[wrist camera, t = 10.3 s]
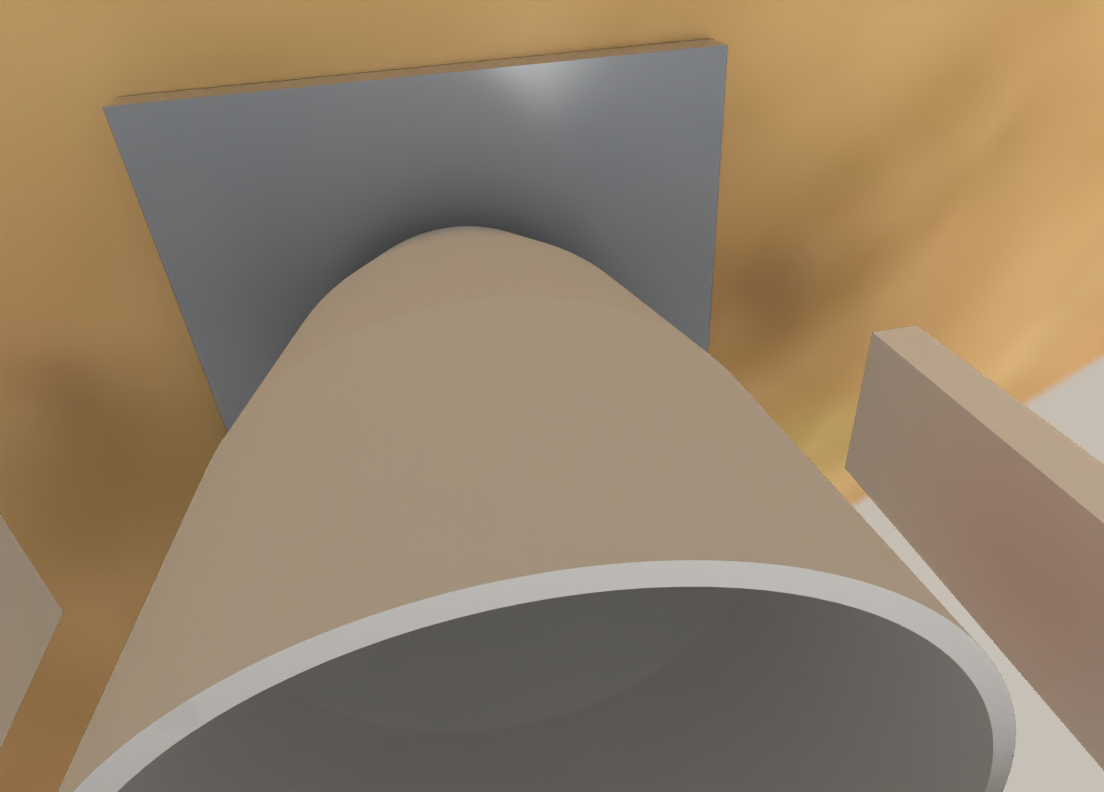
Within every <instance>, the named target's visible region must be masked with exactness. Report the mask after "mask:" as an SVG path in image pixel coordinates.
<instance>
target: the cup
mask: <svg viewBox="0 0 1104 792" xmlns="http://www.w3.org/2000/svg"><path fill="white" fill-rule="evenodd" d="M1015 740H1016V724H1015V715H1014V709H1013V705H1012V701H1011V697H1010V694H1009V692H1008V689H1007V686H1006V684H1005V682H1004V680H1003V678H1002V676H1001V674H1000V672H999V671H998V669H997V667H996V666H995V664H994V663H993V661H992V660H991V659H990V658H989V656H988V655H987V654H986V652H985V651H984V650H983V649H982V648H981V647H980V646H979V645H978V644H977V643H976V641H975V640H974V639H973V638H972V637H971V636H970V635H969V634H968V633H967V632H966V630H965V629H964V628H963V627H962V626H961V625H960V624H959V623H958V622H957V621H956V619H955V618H954V617H953V616H952V615H951V614H950V613H949V612H948V611H947V609H945V607H944V606H943V605H942V604H941V603H940V602H939V601H938V600H937V599H936V597H935V596H934V595H933V594H932V593H931V592H930V591H929V590H928V589H927V588H926V587H925V585H923V583H922V582H921V581H920V580H919V579H918V578H917V577H916V576H915V575H914V573H913V572H912V571H911V570H910V569H909V568H908V567H907V566H906V565H905V563H904V562H903V561H902V560H901V559H900V558H899V557H898V556H897V555H896V554H895V553H894V551H893V550H892V549H891V548H890V547H889V546H888V545H887V544H886V543H885V542H884V540H883V539H882V538H881V537H880V536H879V535H878V534H877V533H876V532H875V531H874V529H873V528H872V527H871V526H870V525H869V524H868V523H867V522H866V521H865V520H864V519H863V517H862V516H861V515H860V514H859V513H858V512H857V511H856V510H855V509H854V508H853V506H852V505H851V504H850V503H849V502H848V501H847V500H846V499H845V498H844V497H843V496H842V494H841V493H840V492H839V491H838V490H837V489H836V488H835V487H834V486H833V485H832V483H831V482H830V481H829V480H828V479H827V478H826V477H825V476H824V475H823V474H822V472H821V471H820V470H819V469H818V468H817V467H816V466H815V465H814V464H813V463H812V462H811V460H810V459H809V458H808V457H807V456H806V455H805V454H804V453H803V452H802V451H801V449H800V448H799V447H798V446H797V445H796V444H795V443H794V442H793V441H792V440H791V439H790V437H789V436H788V435H787V434H786V433H785V432H784V431H783V430H782V429H781V428H780V426H779V425H778V424H777V423H776V422H775V421H774V420H773V419H772V418H771V417H770V416H769V414H768V413H767V412H766V411H765V410H764V409H763V408H762V407H761V406H760V405H759V403H758V402H757V401H756V400H755V399H754V398H753V397H752V396H751V395H750V394H749V392H748V391H747V390H746V389H745V388H744V387H743V386H742V385H741V384H740V383H739V382H738V380H737V379H736V378H735V377H734V376H733V375H732V374H731V373H730V372H729V371H728V370H727V369H726V368H725V367H724V366H723V365H722V364H721V363H720V362H718V361H717V360H716V359H715V358H714V357H712V356H711V355H710V354H709V353H707V352H706V351H705V350H704V349H702V348H701V347H700V346H698V345H697V344H696V343H695V342H693V341H692V340H691V339H689V338H688V337H687V336H686V335H684V334H683V333H682V332H680V331H679V330H678V329H677V328H675V327H674V326H673V325H672V324H670V323H669V322H668V321H666V320H665V319H664V318H663V317H661V316H660V315H659V314H657V313H656V312H655V311H654V310H652V309H651V308H650V307H648V306H647V305H646V304H645V303H643V302H642V301H641V300H640V299H638V298H637V297H636V296H634V295H633V294H632V293H631V292H629V291H628V290H627V289H625V288H624V287H623V286H622V285H620V284H619V283H618V282H616V281H615V280H614V279H613V278H611V277H610V276H609V275H607V274H606V273H605V272H603V271H602V270H601V269H599V268H598V267H596V266H595V265H593V264H592V263H590V262H588V261H586V260H585V259H583V258H581V257H579V256H577V255H575V254H573V253H571V252H569V251H566V250H564V249H561V248H559V247H556V246H553V245H550V244H547V243H544V242H540V241H537V240H534V239H530V238H527V237H523V236H520V235H517V234H513V233H510V232H507V231H503V230H499V229H494V228H488V227H478V226H457V227H448V228H441V229H436V230H432V231H428V232H425V233H422V234H419V235H416V236H414V237H411V238H409V239H407V240H405V241H403V242H401V243H399V244H397V245H395V246H394V247H392V248H390V249H389V250H387V251H386V252H384V253H383V254H381V255H380V256H378V257H377V258H375V259H374V260H372V261H371V262H369V263H368V264H366V265H365V266H363V267H362V268H360V269H359V270H357V271H356V272H354V273H353V274H351V275H350V276H349V277H347V278H346V279H344V280H343V281H342V282H341V283H339V284H338V285H337V286H336V287H335V288H333V289H332V290H331V291H330V292H329V293H328V294H327V295H326V296H325V297H324V298H323V299H322V300H321V301H320V302H319V303H318V304H317V305H316V307H315V308H314V309H313V310H312V311H311V313H310V314H309V315H308V317H307V318H306V319H305V321H304V322H303V324H302V325H301V326H300V328H299V329H298V331H297V332H296V334H295V335H294V337H293V338H292V340H291V341H290V342H289V344H288V345H287V347H286V348H285V350H284V351H283V353H282V354H281V356H280V357H279V358H278V360H277V361H276V363H275V364H274V366H273V367H272V369H271V370H270V372H269V373H268V375H267V376H266V377H265V379H264V380H263V382H262V383H261V385H260V386H259V388H258V389H257V391H256V392H255V393H254V395H253V396H252V398H251V399H250V401H249V402H248V404H247V405H246V407H245V408H244V409H243V411H242V412H241V414H240V415H239V417H238V418H237V420H236V421H235V423H234V424H233V425H232V427H231V428H230V430H229V431H228V433H227V434H226V436H225V437H224V439H223V440H222V441H221V443H220V445H219V446H218V448H217V450H216V451H215V453H214V455H213V456H212V458H211V460H210V462H209V464H208V466H207V468H206V470H205V472H204V475H203V477H202V479H201V481H200V483H199V486H198V488H197V490H196V492H195V494H194V496H193V499H192V501H191V503H190V505H189V507H188V509H187V512H186V514H185V516H184V518H183V520H182V522H181V525H180V527H179V529H178V531H177V533H176V536H175V538H174V540H173V542H172V544H171V546H170V549H169V551H168V553H167V555H166V557H165V559H164V562H163V564H162V566H161V568H160V570H159V572H158V575H157V577H156V579H155V581H154V583H153V586H152V588H151V590H150V592H149V594H148V596H147V599H146V601H145V603H144V605H143V607H142V609H141V612H140V614H139V616H138V618H137V620H136V622H135V625H134V627H133V629H132V631H131V633H130V636H129V638H128V640H127V642H126V644H125V646H124V649H123V651H122V653H121V655H120V657H119V659H118V662H117V664H116V666H115V668H114V670H113V672H112V675H111V677H110V679H109V681H108V683H107V686H106V688H105V690H104V692H103V694H102V696H101V699H100V701H99V703H98V705H97V707H96V709H95V712H94V714H93V716H92V718H91V720H90V722H89V725H88V727H87V729H86V731H85V733H84V736H83V738H82V740H81V742H80V744H79V746H78V749H77V751H76V753H75V755H74V757H73V759H72V762H71V764H70V766H69V768H68V770H67V772H66V775H65V777H64V779H63V781H62V783H61V786H60V788H59V790H58V792H1003V789H1004V787H1005V785H1006V782H1007V779H1008V776H1009V773H1010V769H1011V766H1012V761H1013V757H1014V750H1015Z"/></svg>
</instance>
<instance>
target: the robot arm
mask: <svg viewBox="0 0 1104 792" xmlns="http://www.w3.org/2000/svg"><path fill="white" fill-rule="evenodd" d="M845 469H846V470H847V471H848V472H849V473H850V475H851V476H852V477H853V478H854V479H855V480H856V482H857V483H858V484H859V485H860V486H861V487H862V489H863V490H864V491H865V492H866V493H867V494H868V496H869V497H870V498H871V499H872V500H873V501H874V503H875V504H876V505H877V506H878V507H879V508H880V510H881V511H882V512H883V513H884V514H885V516H886V517H887V518H888V519H889V520H890V521H891V523H892V524H893V525H894V526H895V527H896V528H897V530H898V531H899V532H900V533H901V534H902V535H903V536H904V538H905V539H906V540H907V541H908V542H909V544H910V545H911V546H912V547H913V548H914V549H915V550H916V552H917V553H918V554H919V555H920V556H921V558H922V559H923V560H924V561H925V562H926V563H927V565H928V566H929V567H930V568H931V569H932V570H933V572H934V573H935V574H936V575H937V576H938V577H939V579H940V580H941V581H942V582H943V583H944V584H945V586H946V587H947V588H948V589H949V590H950V591H951V593H952V594H953V595H954V596H955V597H956V598H957V600H958V601H959V602H960V603H961V604H962V605H963V606H964V608H965V609H966V610H967V611H968V612H969V613H970V615H971V616H972V617H973V618H974V619H975V620H976V622H977V623H978V624H979V625H980V626H981V628H982V629H983V630H984V631H985V632H986V633H987V635H988V636H989V637H990V638H991V639H992V640H993V641H994V643H995V644H996V645H997V646H998V647H999V649H1000V650H1001V651H1002V652H1003V653H1004V654H1005V656H1006V657H1007V658H1008V659H1009V660H1010V661H1011V663H1012V664H1013V665H1014V666H1015V667H1016V668H1017V670H1018V671H1019V672H1020V673H1021V674H1022V676H1023V677H1024V678H1025V679H1026V680H1027V681H1028V683H1029V684H1030V685H1031V686H1032V687H1033V688H1034V690H1035V691H1036V692H1037V693H1038V694H1039V695H1040V696H1041V698H1042V699H1043V700H1044V701H1045V702H1046V703H1047V705H1048V706H1049V707H1050V708H1051V709H1052V710H1053V711H1054V713H1055V714H1056V715H1057V716H1058V718H1059V719H1060V720H1061V721H1062V722H1063V723H1064V725H1065V726H1066V727H1067V728H1068V729H1069V730H1070V732H1071V733H1072V734H1073V735H1074V736H1075V737H1076V738H1077V740H1078V741H1079V742H1080V743H1081V744H1082V746H1083V747H1084V748H1085V749H1086V750H1087V751H1088V753H1089V754H1090V755H1091V756H1092V757H1093V758H1094V760H1095V761H1096V762H1097V763H1098V764H1099V765H1100V767H1101V768H1102V769H1103V770H1104V464H1102V463H1101V462H1100V461H1098V460H1097V459H1096V458H1094V457H1093V456H1092V455H1090V454H1089V453H1088V452H1086V451H1085V450H1084V449H1082V448H1081V447H1080V446H1078V445H1077V444H1076V443H1074V442H1073V441H1072V440H1070V439H1069V438H1068V437H1066V436H1065V435H1064V434H1062V433H1061V432H1059V431H1058V430H1057V429H1056V428H1054V427H1053V426H1052V425H1050V424H1049V423H1047V422H1046V421H1045V420H1043V419H1042V418H1040V417H1039V416H1038V415H1037V414H1035V413H1034V412H1033V411H1031V410H1030V409H1029V408H1027V407H1026V406H1025V405H1023V404H1022V403H1021V402H1019V401H1018V400H1017V399H1015V398H1014V397H1013V396H1011V395H1010V394H1009V393H1007V392H1006V391H1005V390H1003V389H1002V388H1001V387H999V386H998V385H996V384H995V383H994V382H992V381H991V380H990V379H988V378H987V377H986V376H984V375H983V374H982V373H980V372H979V371H978V370H976V369H975V368H974V367H972V366H971V365H970V364H968V363H967V362H966V361H964V360H963V359H962V358H960V357H959V356H958V355H956V354H955V353H954V352H952V351H951V350H949V349H948V348H947V347H945V346H944V345H943V344H941V343H940V342H939V341H937V340H936V339H935V338H933V337H932V336H931V335H929V334H928V333H927V332H925V331H924V330H923V329H921V328H920V327H919V326H917V325H915V326H909V327H902V328H896V329H890V330H884V331H877V332H872V337H871V342H870V347H869V352H868V357H867V362H866V367H865V371H864V376H863V381H862V386H861V391H860V396H859V401H858V406H857V411H856V416H855V420H854V425H853V430H852V435H851V440H850V445H849V450H848V455H847V460H846V464H845ZM62 614H63V611H62V609H61V608H60V606H59V605H58V603H57V601H56V600H55V598H54V597H53V595H52V594H51V592H50V591H49V589H48V588H47V586H46V584H45V583H44V581H43V580H42V578H41V577H40V575H39V574H38V572H37V570H36V569H35V567H34V566H33V564H32V563H31V561H30V560H29V558H28V557H27V555H26V553H25V552H24V550H23V549H22V547H21V546H20V544H19V543H18V541H17V539H16V538H15V536H14V535H13V533H12V532H11V530H10V529H9V527H8V526H7V524H6V522H5V521H4V519H3V518H2V516H1V515H0V748H1V746H2V744H3V742H4V739H5V737H6V735H7V733H8V731H9V729H10V727H11V724H12V722H13V720H14V718H15V716H16V714H17V711H18V709H19V707H20V705H21V703H22V701H23V698H24V696H25V694H26V692H27V690H28V688H29V685H30V683H31V681H32V679H33V677H34V675H35V672H36V670H37V668H38V666H39V664H40V662H41V659H42V657H43V655H44V653H45V651H46V649H47V646H48V644H49V642H50V640H51V638H52V636H53V633H54V631H55V629H56V627H57V625H58V623H59V620H60V618H61V616H62Z"/></svg>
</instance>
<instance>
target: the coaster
mask: <svg viewBox="0 0 1104 792" xmlns="http://www.w3.org/2000/svg"><path fill="white" fill-rule="evenodd" d="M727 49H728V45H727V44H724V43H721V42H718V41H716V40H713V39H702V40H692V41H682V42H672V43H662V44H652V45H641V46H631V47H621V48H611V49H601V50H591V51H580V52H570V53H560V54H550V55H540V56H529V57H519V58H509V59H499V60H489V61H479V62H468V63H458V64H448V65H438V66H428V67H418V68H407V69H397V70H387V71H377V72H367V73H357V74H346V75H336V76H326V77H316V78H306V79H295V80H285V81H275V82H265V83H255V84H245V85H234V86H224V87H214V88H204V89H194V90H184V91H173V92H163V93H153V94H143V95H133V96H123V97H118V98H116V99H115V100H113V101H111V102H110V103H108V104H107V105H105V106H104V107H103V110H104V112H105V115H106V117H107V120H108V123H109V125H110V128H111V130H112V133H113V136H114V138H115V141H116V143H117V146H118V149H119V151H120V154H121V157H122V159H123V162H124V164H125V167H126V170H127V172H128V175H129V177H130V180H131V183H132V185H133V188H134V190H135V193H136V196H137V198H138V201H139V203H140V206H141V209H142V211H143V214H144V217H145V219H146V222H147V224H148V227H149V230H150V232H151V235H152V237H153V240H154V243H155V245H156V248H157V250H158V253H159V256H160V258H161V261H162V263H163V266H164V269H165V271H166V274H167V277H168V279H169V282H170V284H171V287H172V290H173V292H174V295H175V297H176V300H177V303H178V305H179V308H180V310H181V313H182V316H183V318H184V321H185V323H186V326H187V329H188V331H189V334H190V337H191V339H192V342H193V344H194V347H195V350H196V352H197V355H198V357H199V360H200V363H201V365H202V368H203V370H204V373H205V376H206V378H207V381H208V384H209V386H210V389H211V391H212V394H213V397H214V399H215V402H216V404H217V407H218V410H219V412H220V415H221V417H222V420H223V423H224V425H225V428H226V430H227V433H228V431H229V430H230V428H231V427H232V425H233V424H234V423H235V421H236V420H237V418H238V417H239V415H240V414H241V412H242V411H243V409H244V408H245V407H246V405H247V404H248V402H249V401H250V399H251V398H252V396H253V395H254V393H255V392H256V391H257V389H258V388H259V386H260V385H261V383H262V382H263V380H264V379H265V377H266V376H267V375H268V373H269V372H270V370H271V369H272V367H273V366H274V364H275V363H276V361H277V360H278V358H279V357H280V356H281V354H282V353H283V351H284V350H285V348H286V347H287V345H288V344H289V342H290V341H291V340H292V338H293V337H294V335H295V334H296V332H297V331H298V329H299V328H300V326H301V325H302V324H303V322H304V321H305V319H306V318H307V317H308V315H309V314H310V313H311V311H312V310H313V309H314V308H315V307H316V305H317V304H318V303H319V302H320V301H321V300H322V299H323V298H324V297H325V296H326V295H327V294H328V293H329V292H330V291H331V290H332V289H333V288H335V287H336V286H337V285H338V284H339V283H341V282H342V281H343V280H344V279H346V278H347V277H349V276H350V275H351V274H353V273H354V272H356V271H357V270H359V269H360V268H362V267H363V266H365V265H366V264H368V263H369V262H371V261H372V260H374V259H375V258H377V257H378V256H380V255H381V254H383V253H384V252H386V251H387V250H389V249H390V248H392V247H394V246H395V245H397V244H399V243H401V242H403V241H405V240H407V239H409V238H411V237H414V236H416V235H419V234H422V233H425V232H428V231H432V230H436V229H441V228H448V227H457V226H478V227H488V228H494V229H499V230H503V231H507V232H510V233H513V234H517V235H520V236H523V237H527V238H530V239H534V240H537V241H540V242H544V243H547V244H550V245H553V246H556V247H559V248H561V249H564V250H566V251H569V252H571V253H573V254H575V255H577V256H579V257H581V258H583V259H585V260H586V261H588V262H590V263H592V264H593V265H595V266H596V267H598V268H599V269H601V270H602V271H603V272H605V273H606V274H607V275H609V276H610V277H611V278H613V279H614V280H615V281H616V282H618V283H619V284H620V285H622V286H623V287H624V288H625V289H627V290H628V291H629V292H631V293H632V294H633V295H634V296H636V297H637V298H638V299H640V300H641V301H642V302H643V303H645V304H646V305H647V306H648V307H650V308H651V309H652V310H654V311H655V312H656V313H657V314H659V315H660V316H661V317H663V318H664V319H665V320H666V321H668V322H669V323H670V324H672V325H673V326H674V327H675V328H677V329H678V330H679V331H680V332H682V333H683V334H684V335H686V336H687V337H688V338H689V339H691V340H692V341H693V342H695V343H696V344H697V345H698V346H700V347H701V348H702V349H704V350H705V351H706V352H707V353H708V345H709V329H710V313H711V298H712V282H713V267H714V251H715V236H716V220H717V205H718V189H719V173H720V158H721V142H722V127H723V111H724V96H725V80H726V64H727Z"/></svg>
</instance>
